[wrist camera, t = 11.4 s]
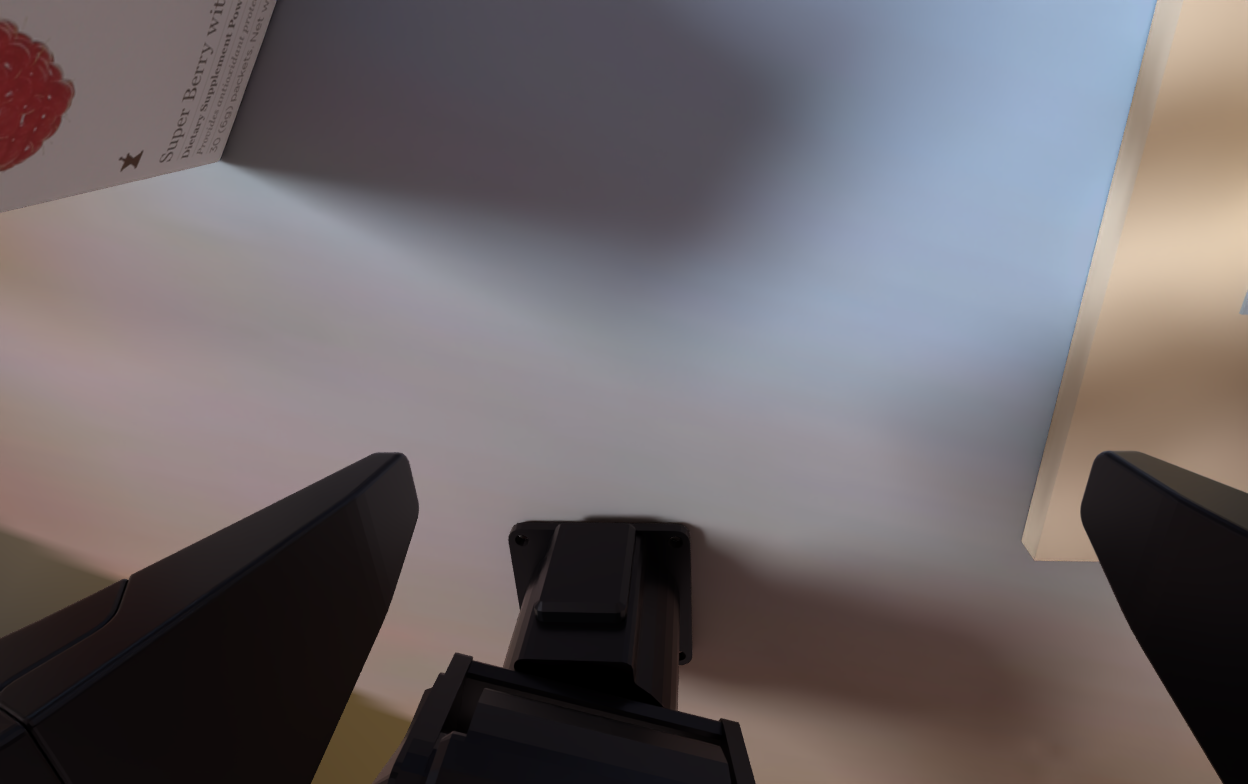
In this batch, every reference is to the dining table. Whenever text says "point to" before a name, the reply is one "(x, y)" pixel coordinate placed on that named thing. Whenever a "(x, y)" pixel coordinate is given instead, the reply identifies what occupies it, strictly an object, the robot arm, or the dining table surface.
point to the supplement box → (118, 90)
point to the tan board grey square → (1162, 281)
